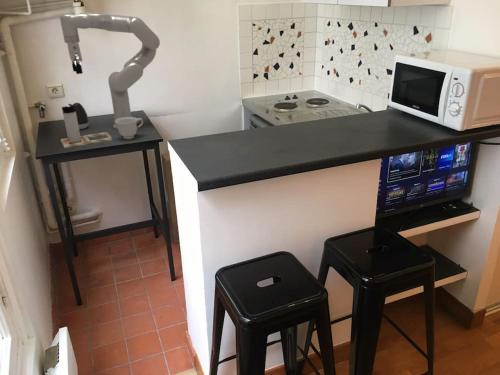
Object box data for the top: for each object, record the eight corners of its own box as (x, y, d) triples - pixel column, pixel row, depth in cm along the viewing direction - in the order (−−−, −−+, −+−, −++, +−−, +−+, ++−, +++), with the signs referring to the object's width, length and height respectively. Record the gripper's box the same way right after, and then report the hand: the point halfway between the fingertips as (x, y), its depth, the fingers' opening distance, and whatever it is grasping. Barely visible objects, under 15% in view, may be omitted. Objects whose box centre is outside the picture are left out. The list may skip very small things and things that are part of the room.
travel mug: (68, 145, 221) (60, 107, 212) (69, 141, 226) (62, 104, 218) (81, 143, 222) (73, 106, 214) (81, 140, 228) (74, 103, 220)
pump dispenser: (78, 125, 255) (74, 100, 249) (93, 126, 252) (89, 101, 246) (67, 130, 246) (62, 104, 240) (83, 131, 243) (78, 105, 237)
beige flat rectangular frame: (107, 134, 237) (106, 132, 237) (112, 139, 228) (111, 137, 227) (61, 141, 227) (60, 139, 226) (64, 148, 217) (63, 145, 216)
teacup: (147, 137, 230) (145, 119, 226) (120, 142, 223) (117, 124, 219) (141, 132, 240) (139, 114, 235) (115, 136, 233) (112, 119, 229)
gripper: (82, 40, 217) (88, 74, 224) (76, 37, 231) (82, 69, 238) (66, 41, 214) (73, 75, 221) (61, 38, 227) (68, 70, 235)
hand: (78, 72), depth 229 cm, fingers open, 9 cm apart
